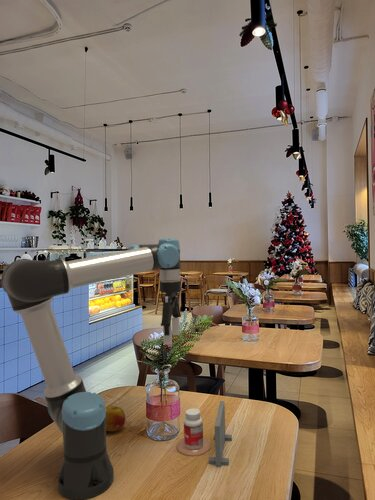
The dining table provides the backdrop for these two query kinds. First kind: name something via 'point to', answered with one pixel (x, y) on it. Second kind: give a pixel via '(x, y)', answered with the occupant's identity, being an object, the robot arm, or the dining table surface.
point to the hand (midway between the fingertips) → (172, 339)
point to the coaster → (190, 452)
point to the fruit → (114, 418)
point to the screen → (220, 438)
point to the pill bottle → (193, 429)
